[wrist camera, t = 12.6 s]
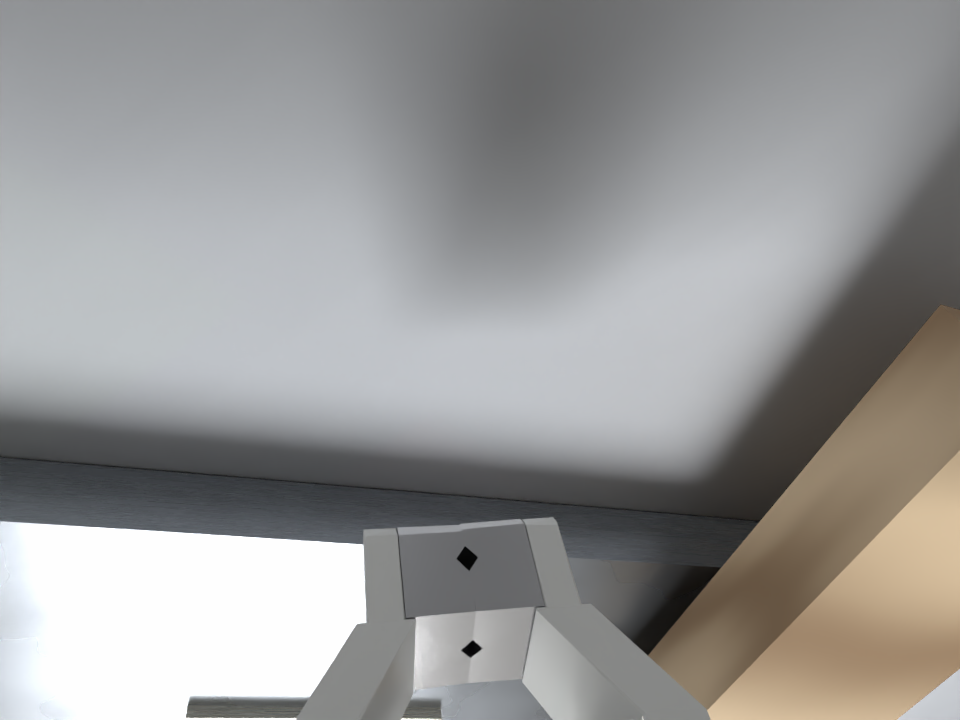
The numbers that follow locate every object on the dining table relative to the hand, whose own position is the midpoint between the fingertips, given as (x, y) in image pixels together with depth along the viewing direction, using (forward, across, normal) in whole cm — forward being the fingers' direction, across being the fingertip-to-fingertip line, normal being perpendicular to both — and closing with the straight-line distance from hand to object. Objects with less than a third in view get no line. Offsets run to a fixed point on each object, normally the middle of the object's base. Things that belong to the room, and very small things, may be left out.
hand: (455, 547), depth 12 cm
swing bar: (+2, -8, +6) cm, 10 cm away
